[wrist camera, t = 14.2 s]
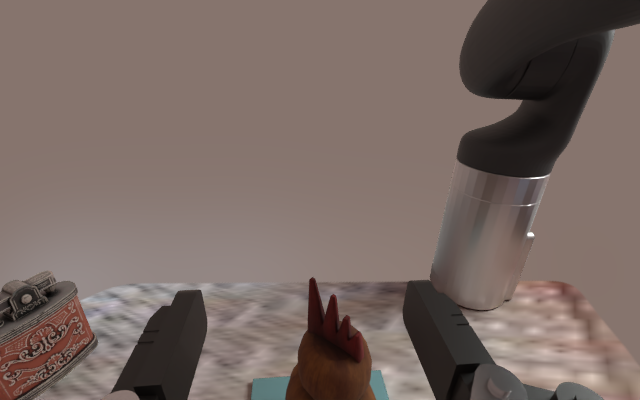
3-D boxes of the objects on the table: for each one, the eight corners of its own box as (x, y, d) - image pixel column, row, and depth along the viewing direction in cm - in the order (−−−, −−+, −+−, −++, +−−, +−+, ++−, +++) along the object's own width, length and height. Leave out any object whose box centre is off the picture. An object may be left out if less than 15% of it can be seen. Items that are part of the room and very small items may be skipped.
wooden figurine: (275, 423, 24) (266, 275, 18) (334, 387, 27) (344, 248, 21) (320, 522, 19) (329, 363, 13) (386, 464, 22) (420, 311, 16)
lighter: (84, 332, 32) (52, 255, 28) (106, 343, 31) (75, 264, 27) (-14, 403, 26) (-76, 316, 21) (9, 420, 24) (-52, 332, 20)
